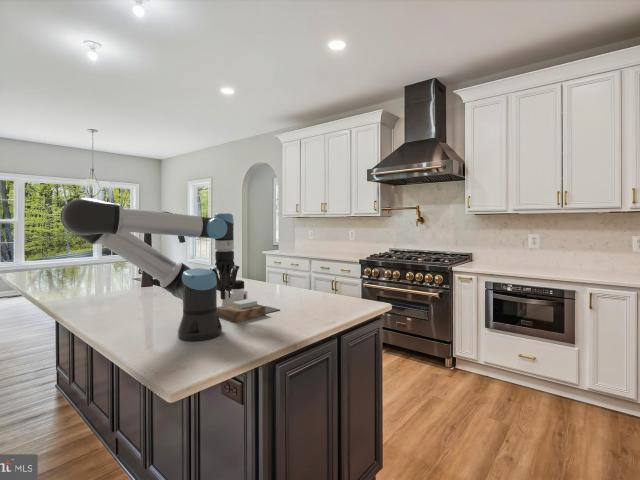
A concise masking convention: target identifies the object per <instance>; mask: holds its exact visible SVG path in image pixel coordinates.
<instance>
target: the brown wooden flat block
mask: <svg viewBox="0 0 640 480" xmlns="http://www.w3.org/2000/svg"><path fill="white" fill-rule="evenodd" d="M217 314H218V317H219V319H222V320H225V321H228V322H230V323H234V324H235V323H239V322H244V321H246V320H252V319H256V318H259V317H264V316H266V311H265V305H262V304H258V303H257V306H252V307H247V308H242V309H238V308H235V307H232V304H230V305H229V307H223V306H222V305H221V306H217Z"/></svg>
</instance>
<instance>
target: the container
mask: <svg viewBox="0 0 640 480" xmlns="http://www.w3.org/2000/svg"><path fill="white" fill-rule="evenodd" d="M248 297H249V296H248V290H245V281H244V280H241V279H236V282H235V287H234V289H232V291H230V298H229V305H230V304H232V302H235V301H240V300H246V299H249V298H248Z"/></svg>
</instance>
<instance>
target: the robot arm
mask: <svg viewBox="0 0 640 480" xmlns="http://www.w3.org/2000/svg"><path fill="white" fill-rule="evenodd" d="M59 218H60V223H61V224H62V226H63V227H64V228H65V229H66V230H67V231H68V232H70V233H72V234H75V235H77V236H78V237H80V238H81V239H83V240H84V241H86V242H88V243H89V244H91V245H102V246H103V247H105V248H106V249H108V250H109V251H111V252H112V253H114V254H116V255H117V256H119V257H121V258H122V259H123V260H125V261H127V262H128V263H130V264H132V265H133V266H135V267H137V268H138V269H140V270H141V271H143V272H145V273H146V274H147V275H150V276H151V277H153V278H154V279H156V280H157V281H159V285H160V287H161V288H163V289H164V290H165V291H167V292H168V293H171V295H172V296H173V297H175V298H178V299H180V300H182V317H181V321H180V323H179V326H178V330H177V332H178V333H177V337H178V338H179V339H180V340H182V341H187V342H188V341H190V342H198V341H207V340H212V339H215V338H218V337H219V336H220V335H222V334H223V327H222V323H221V320H220V318H219V317H218V314H217V307H218V305H217V304H218V303H217V301H218V300H217V297H218V295H217V294H218V293H217V291H219V292H220V299H221V300H222V301H221V302H222V305H221V306H223V307H229V298H230V291H232V289H234V287H235V282H236V280H237V277H238V276H237V275H238V271H239V269H240V265H236V264H235V252H234V248H235V247H234V246H235V245H234V243H235V241H234V238H235V237H234V226H235V223H234V216H233V214H232V213H228V212H227V213H226V212H225V213H222V212H221V213H220V212H219V213H214V217H207V216H199V215H190V214H182V213H172V212H164V211H156V210H155V211H154V210H145V209H140V208H139V209H138V208H130V207H128V208H127V207H123V206H122V205H121V204H120V203H113V202H107V201H104V200H103V201H102V200H98V199H94V198H90V197H79V198H76V199H73V200H70V201H68V202H67V203H66V204H64V206H63V207H62V209H61V212H60V217H59ZM133 233H138V234H139V233H140V234H152V235H153V234H154V235H167V236H177V237H178V236H179V237H187V238H202V239H203V238H205V239H213V240H214V250H215V251H214V256H215V257H214V259H215V264H214V266H213V267H211V268H209V269H208V268H196V267H195V268H191V267H189V266H188V265H186V264H185V263H183V261H173V260H172V259H171V258H168V257H167V256H165V254H163V253H161V252H160V251H158V250H157V249H156V248H155V247H153V246H152V245H149V244H148V243H146V242H145V241H143V240H142V239H141V238H140V237H138V236H136V235H135V234H133Z"/></svg>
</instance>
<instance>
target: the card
mask: <svg viewBox="0 0 640 480" xmlns="http://www.w3.org/2000/svg"><path fill="white" fill-rule="evenodd" d="M257 304H258V300H255V299H251V298H248V299H246V300H240V301H235V302H232V307H235V308H238V309H242V308H247V307H252V306H257Z"/></svg>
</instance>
